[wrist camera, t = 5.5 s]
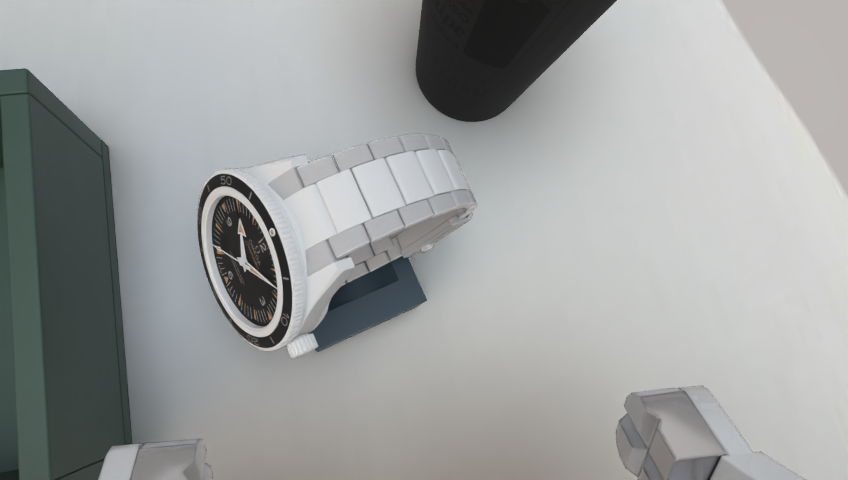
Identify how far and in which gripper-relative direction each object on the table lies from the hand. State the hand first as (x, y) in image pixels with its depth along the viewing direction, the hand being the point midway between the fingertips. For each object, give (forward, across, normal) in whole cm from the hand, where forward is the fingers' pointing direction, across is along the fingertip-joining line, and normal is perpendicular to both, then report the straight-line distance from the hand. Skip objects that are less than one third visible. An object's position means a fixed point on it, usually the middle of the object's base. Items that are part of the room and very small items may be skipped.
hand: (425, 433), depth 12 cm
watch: (+13, +1, +6) cm, 14 cm away
